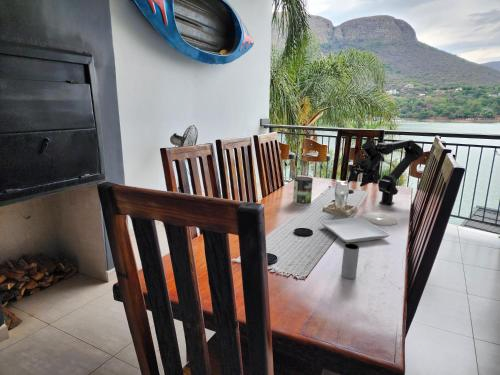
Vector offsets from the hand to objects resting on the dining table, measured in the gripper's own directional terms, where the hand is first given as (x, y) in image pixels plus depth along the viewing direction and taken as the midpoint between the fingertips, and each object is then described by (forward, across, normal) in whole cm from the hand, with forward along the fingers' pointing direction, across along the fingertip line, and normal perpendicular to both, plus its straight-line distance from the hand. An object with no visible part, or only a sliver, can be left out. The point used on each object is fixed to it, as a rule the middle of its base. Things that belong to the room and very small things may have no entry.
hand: (353, 184), depth 164 cm
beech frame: (+15, 0, +4) cm, 16 cm away
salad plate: (+26, +27, -7) cm, 38 cm away
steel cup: (+15, 0, +4) cm, 16 cm away
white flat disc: (+9, +18, +10) cm, 22 cm away
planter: (+44, +54, -25) cm, 74 cm away
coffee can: (+23, -19, -4) cm, 30 cm away
